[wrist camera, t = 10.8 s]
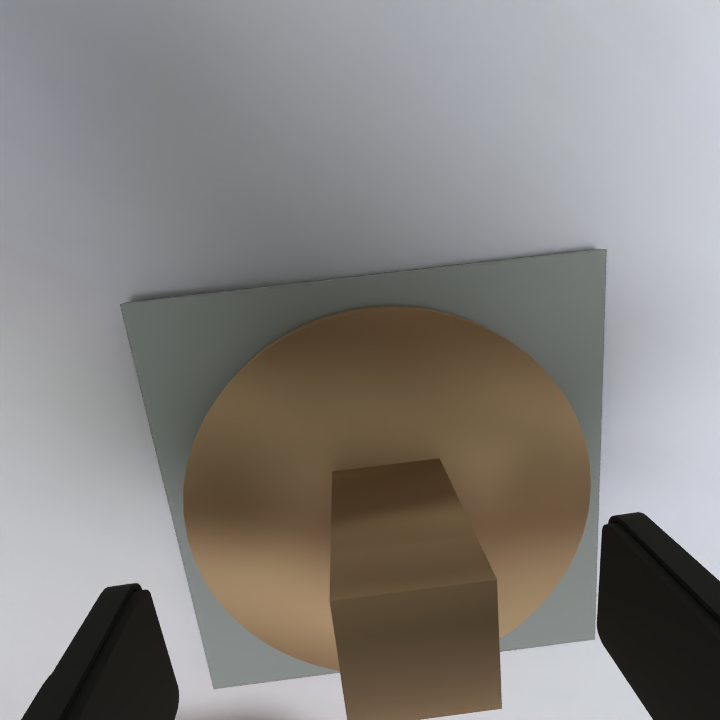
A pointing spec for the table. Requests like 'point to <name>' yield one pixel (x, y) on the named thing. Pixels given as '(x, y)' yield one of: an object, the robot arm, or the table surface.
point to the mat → (323, 297)
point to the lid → (389, 503)
